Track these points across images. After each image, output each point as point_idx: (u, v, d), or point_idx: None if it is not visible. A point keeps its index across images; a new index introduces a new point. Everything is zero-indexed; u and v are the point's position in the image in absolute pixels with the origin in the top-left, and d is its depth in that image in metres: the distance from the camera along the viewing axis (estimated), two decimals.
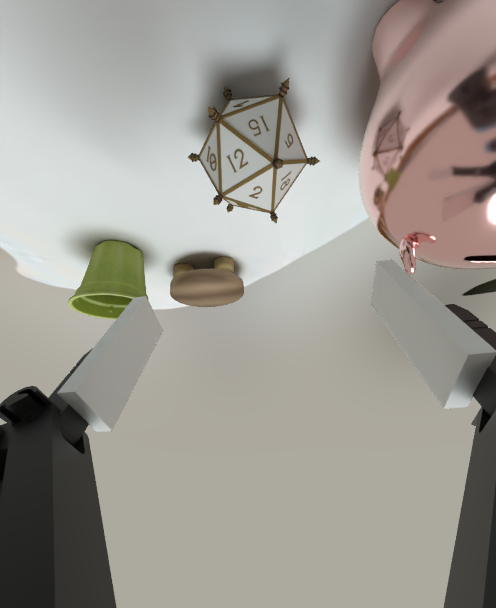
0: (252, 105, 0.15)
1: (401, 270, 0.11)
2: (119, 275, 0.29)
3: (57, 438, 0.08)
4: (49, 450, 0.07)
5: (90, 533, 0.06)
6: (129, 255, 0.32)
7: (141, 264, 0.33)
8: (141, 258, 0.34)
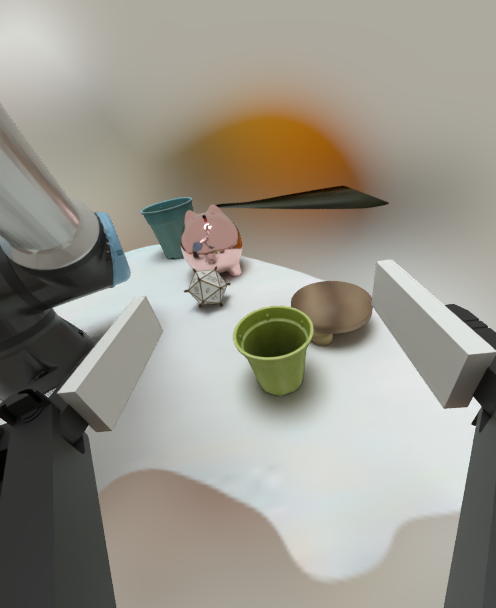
0: None
1: (401, 270, 0.11)
2: None
3: (57, 438, 0.08)
4: (49, 450, 0.07)
5: (90, 533, 0.06)
6: None
7: (279, 346, 0.34)
8: (281, 352, 0.34)
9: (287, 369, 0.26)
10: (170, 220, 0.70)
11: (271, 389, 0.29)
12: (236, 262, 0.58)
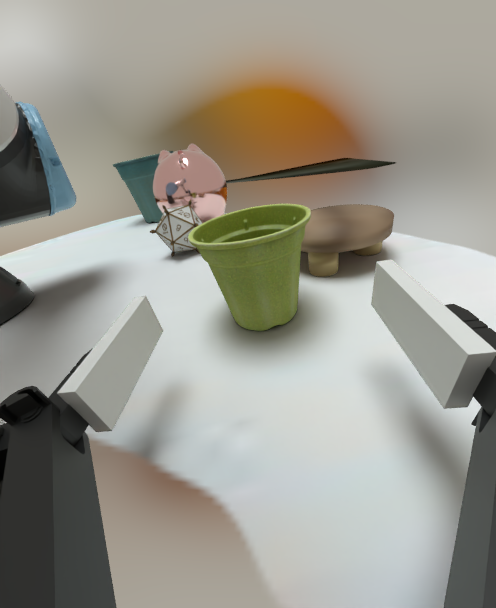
0: None
1: (401, 270, 0.11)
2: None
3: (57, 438, 0.08)
4: (49, 450, 0.07)
5: (90, 533, 0.06)
6: None
7: None
8: None
9: (270, 274, 0.17)
10: (146, 172, 0.61)
11: (249, 319, 0.20)
12: (219, 210, 0.49)
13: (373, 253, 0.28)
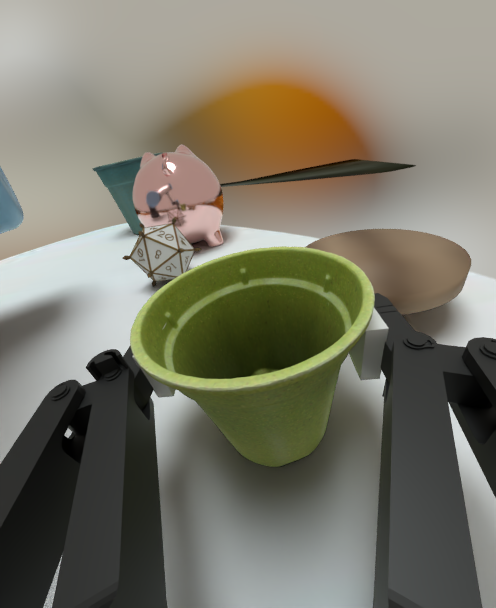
0: None
1: None
2: None
3: (131, 402, 0.08)
4: (124, 412, 0.08)
5: (149, 499, 0.07)
6: None
7: (272, 344, 0.16)
8: (276, 356, 0.16)
9: (291, 412, 0.08)
10: (130, 177, 0.52)
11: (249, 454, 0.11)
12: (214, 224, 0.40)
13: None
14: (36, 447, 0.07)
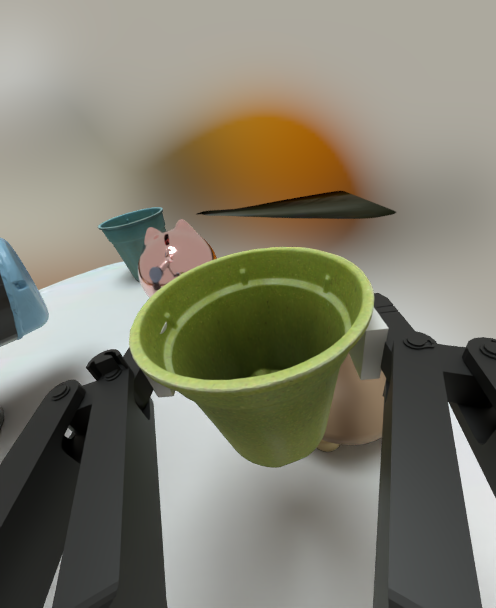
0: None
1: None
2: None
3: (131, 402, 0.08)
4: (124, 412, 0.08)
5: (149, 499, 0.07)
6: None
7: (272, 344, 0.16)
8: (276, 356, 0.16)
9: (290, 413, 0.08)
10: (133, 237, 0.57)
11: (248, 454, 0.11)
12: None
13: None
14: (36, 447, 0.07)
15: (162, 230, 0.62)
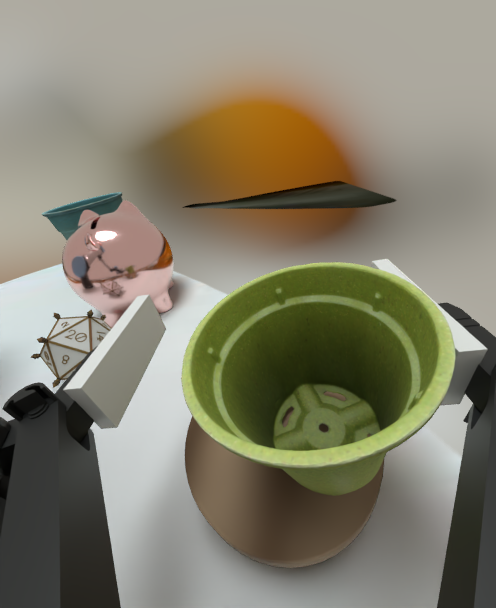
0: None
1: (396, 269, 0.11)
2: None
3: (63, 434, 0.08)
4: (55, 446, 0.07)
5: (95, 530, 0.07)
6: None
7: (313, 360, 0.15)
8: (318, 371, 0.16)
9: None
10: None
11: (308, 486, 0.11)
12: (158, 292, 0.36)
13: None
14: None
15: None
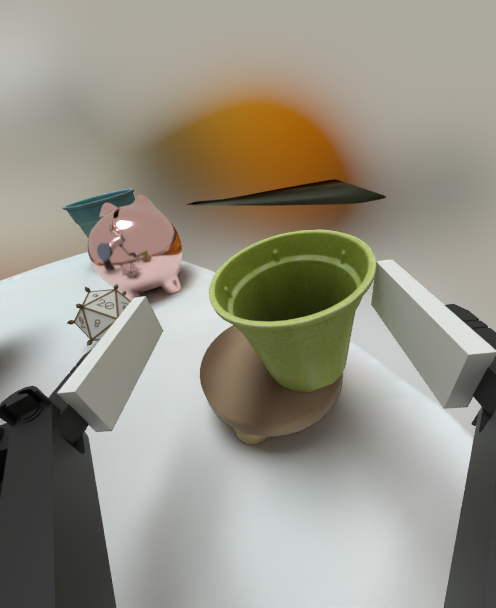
0: None
1: (401, 270, 0.11)
2: None
3: (57, 438, 0.08)
4: (49, 450, 0.07)
5: (90, 533, 0.06)
6: None
7: (299, 308, 0.20)
8: None
9: (321, 345, 0.13)
10: (98, 217, 0.54)
11: (290, 382, 0.16)
12: (169, 275, 0.42)
13: None
14: None
15: None
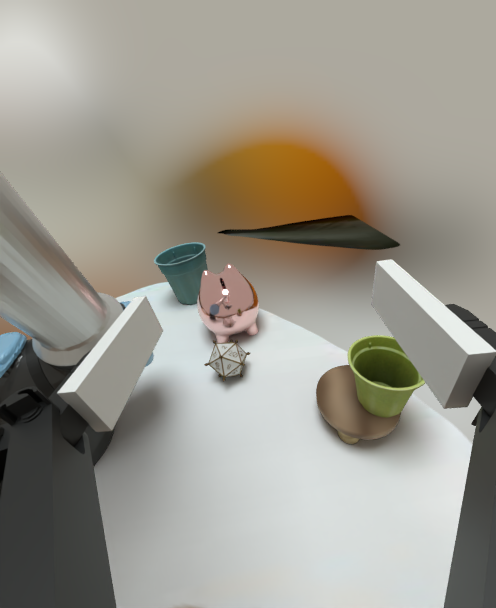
0: None
1: (401, 270, 0.11)
2: None
3: (57, 438, 0.08)
4: (49, 450, 0.07)
5: (90, 533, 0.06)
6: None
7: (375, 370, 0.37)
8: (375, 375, 0.38)
9: (404, 397, 0.30)
10: (184, 271, 0.70)
11: (379, 412, 0.33)
12: (253, 323, 0.58)
13: None
14: None
15: (204, 263, 0.75)
